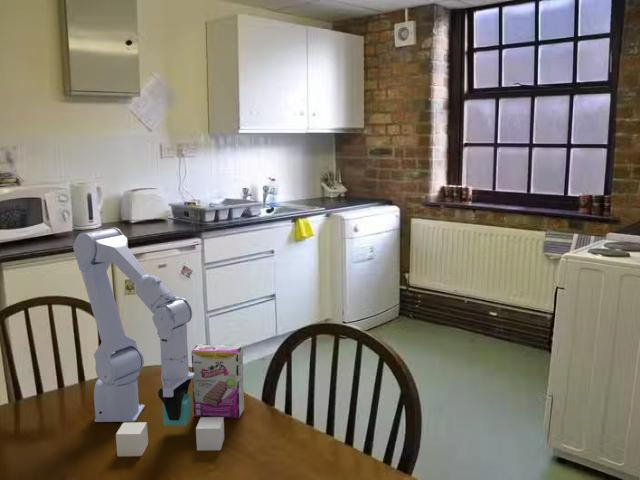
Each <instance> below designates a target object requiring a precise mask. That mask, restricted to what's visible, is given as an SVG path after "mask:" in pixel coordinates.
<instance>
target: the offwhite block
mask: <svg viewBox="0 0 640 480" xmlns="http://www.w3.org/2000/svg"><path fill="white" fill-rule="evenodd" d="M115 442H116V456H117V457H142V456H143V454H144V452H145V451H146V449H147V447H148V444H149V435H148V422H144V421H143V422H142V421H141V422H140V421H139V422H136V421H134V422H123V423H122V424H121V425H120V427H119V428H118V430H117V432H116V434H115Z"/></svg>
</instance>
